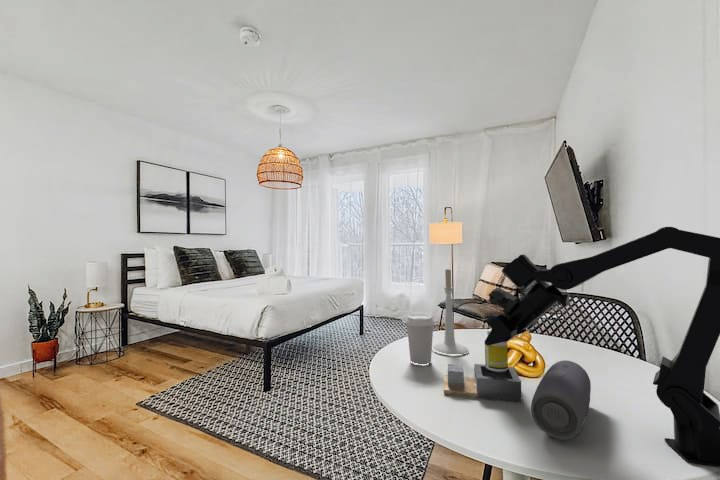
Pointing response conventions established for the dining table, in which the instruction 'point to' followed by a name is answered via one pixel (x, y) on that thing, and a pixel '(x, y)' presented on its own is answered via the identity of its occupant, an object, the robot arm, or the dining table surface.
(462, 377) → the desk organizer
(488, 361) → the supplement bottle
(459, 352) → the candlestick
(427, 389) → the dining table surface
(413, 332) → the coffee cup
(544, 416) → the bluetooth speaker
